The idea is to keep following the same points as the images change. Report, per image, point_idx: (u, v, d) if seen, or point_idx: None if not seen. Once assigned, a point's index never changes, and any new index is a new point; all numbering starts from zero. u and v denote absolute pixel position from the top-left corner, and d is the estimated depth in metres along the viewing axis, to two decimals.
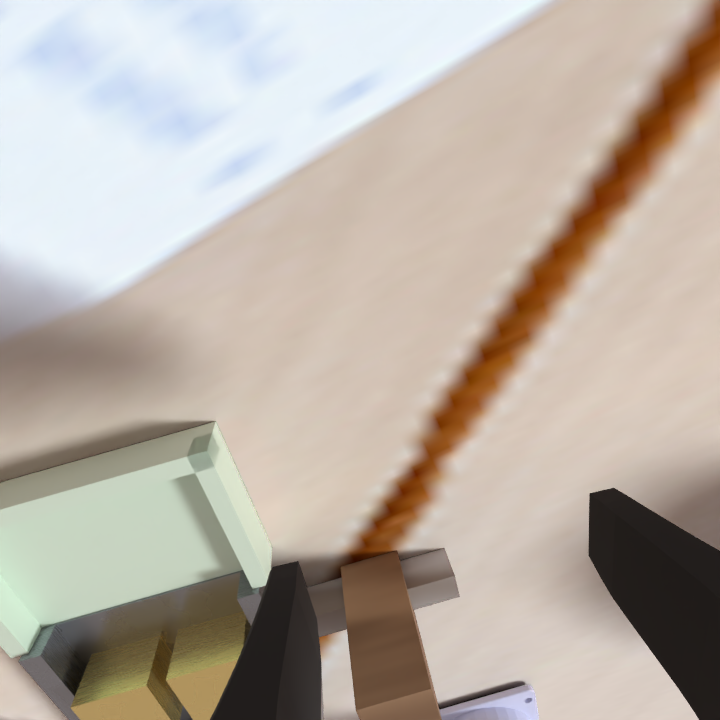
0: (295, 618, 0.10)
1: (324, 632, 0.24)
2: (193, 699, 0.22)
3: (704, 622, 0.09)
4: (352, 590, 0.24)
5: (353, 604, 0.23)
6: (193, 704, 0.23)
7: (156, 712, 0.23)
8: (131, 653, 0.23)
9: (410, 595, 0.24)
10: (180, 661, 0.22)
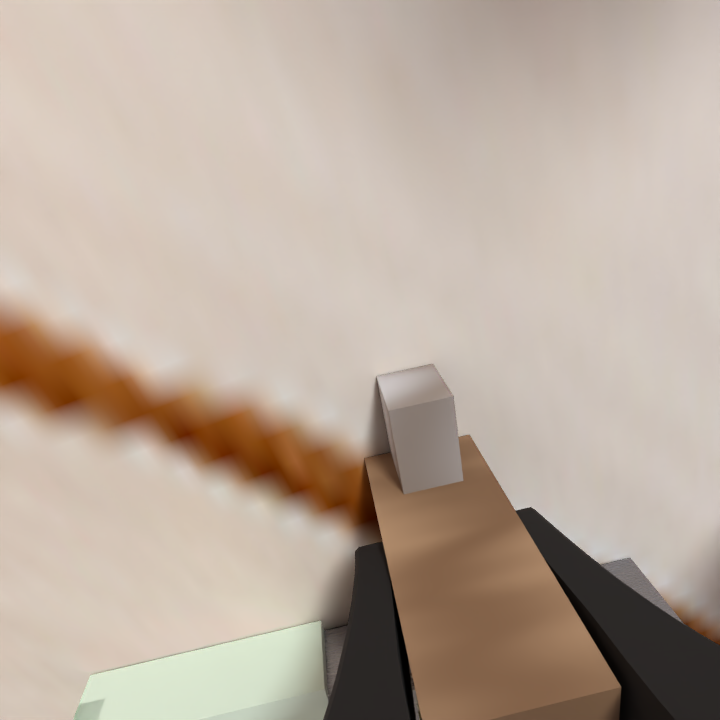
0: (393, 595, 0.10)
1: None
2: None
3: None
4: None
5: None
6: None
7: None
8: None
9: (421, 488, 0.12)
10: None
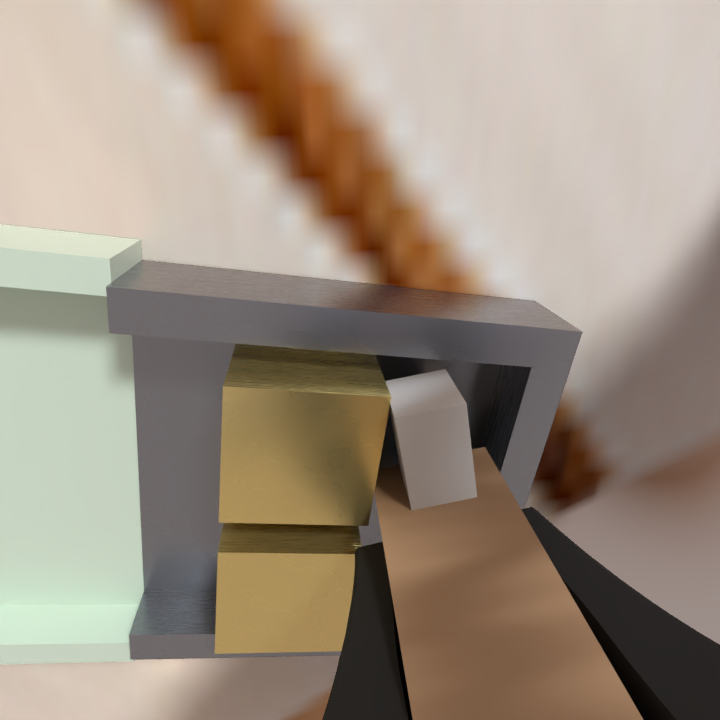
0: None
1: None
2: (295, 505, 0.11)
3: None
4: None
5: None
6: (311, 509, 0.11)
7: (296, 564, 0.12)
8: None
9: (431, 504, 0.11)
10: None
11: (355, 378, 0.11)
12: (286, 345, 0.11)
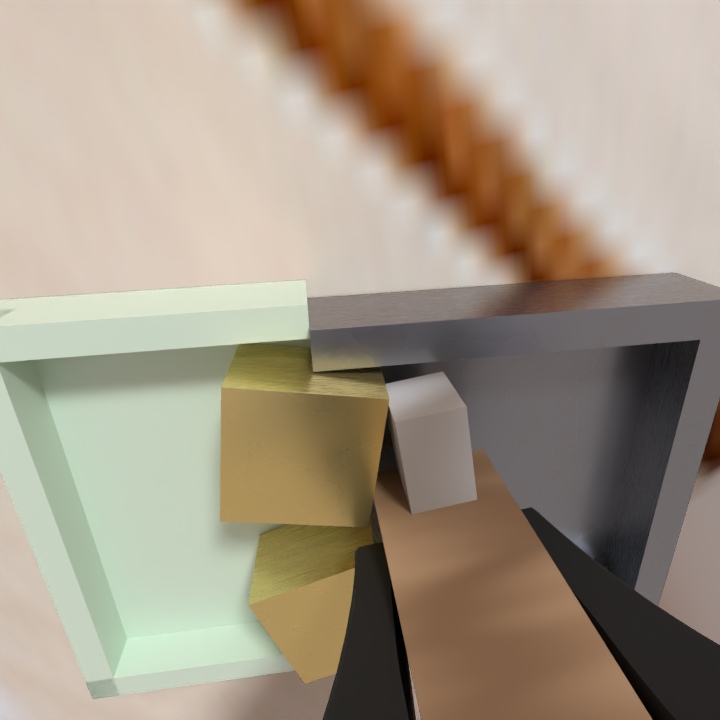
0: (392, 595, 0.10)
1: None
2: (295, 505, 0.11)
3: None
4: None
5: None
6: (311, 510, 0.11)
7: (322, 590, 0.12)
8: None
9: (431, 507, 0.11)
10: None
11: (354, 379, 0.11)
12: (469, 357, 0.11)
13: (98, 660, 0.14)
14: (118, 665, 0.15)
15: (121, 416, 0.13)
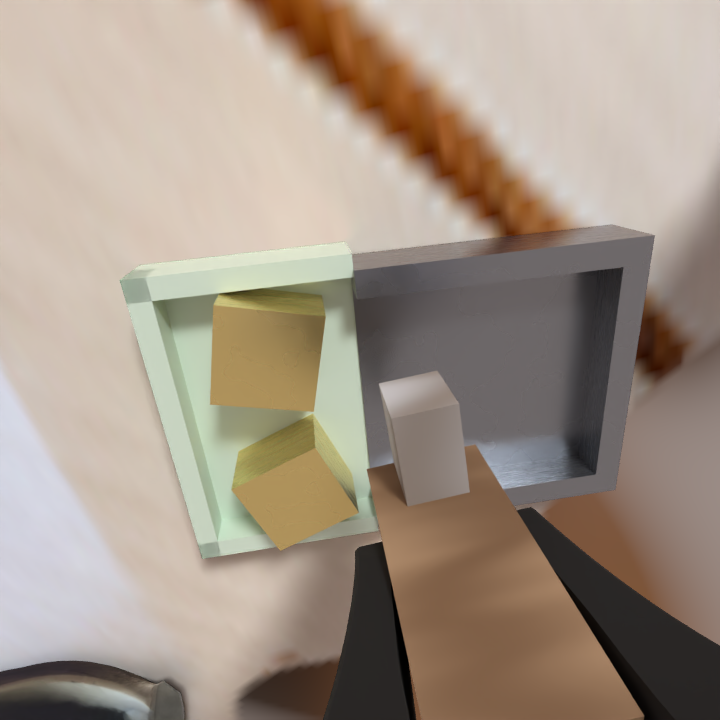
0: (393, 595, 0.10)
1: None
2: (262, 393, 0.17)
3: None
4: None
5: None
6: (273, 397, 0.17)
7: (281, 474, 0.18)
8: None
9: (426, 499, 0.11)
10: None
11: (303, 306, 0.16)
12: (462, 285, 0.17)
13: (207, 526, 0.20)
14: (219, 534, 0.21)
15: None
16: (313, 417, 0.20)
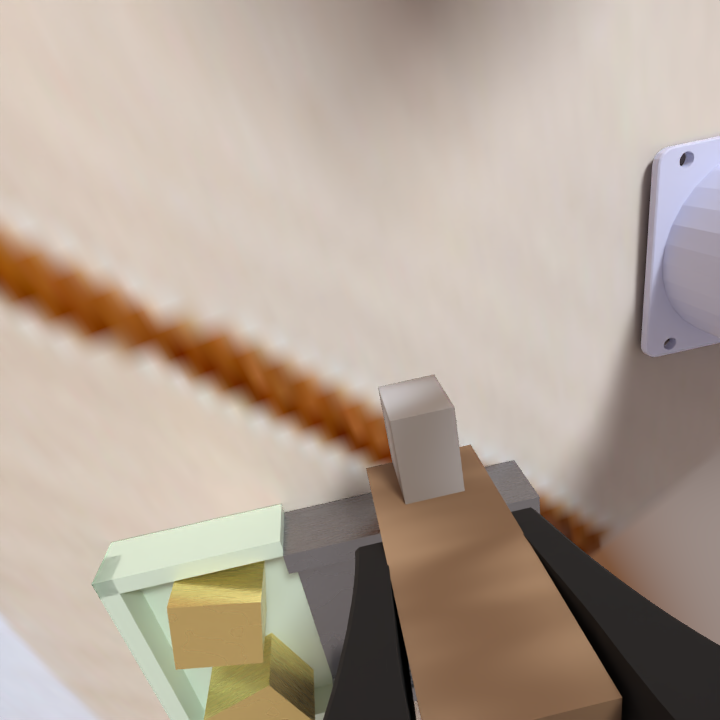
0: (393, 595, 0.10)
1: None
2: (218, 656, 0.20)
3: None
4: None
5: None
6: (227, 658, 0.20)
7: (243, 706, 0.21)
8: None
9: (423, 498, 0.12)
10: None
11: (244, 585, 0.20)
12: None
13: None
14: None
15: None
16: (271, 638, 0.23)
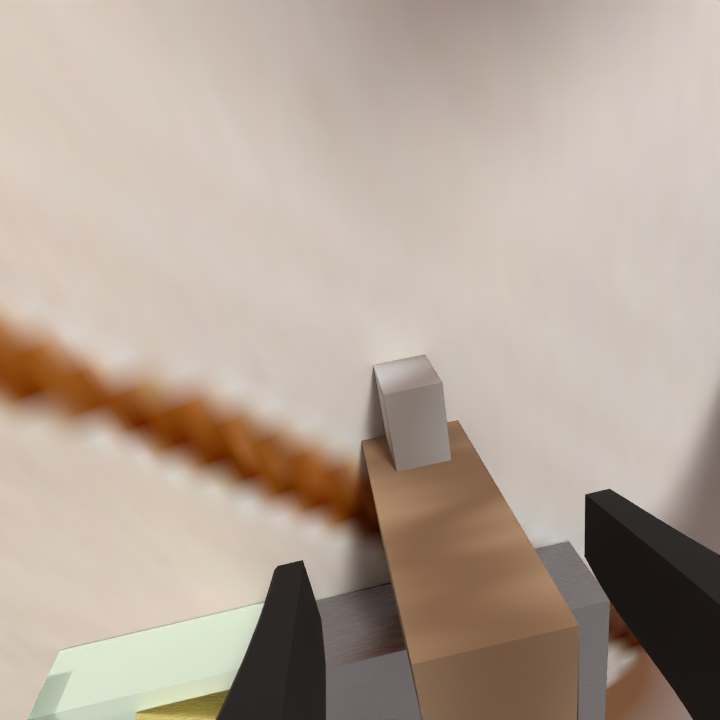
0: (300, 617, 0.10)
1: None
2: None
3: (698, 623, 0.09)
4: None
5: (387, 564, 0.14)
6: None
7: None
8: None
9: (413, 466, 0.13)
10: None
11: None
12: (400, 671, 0.15)
13: None
14: None
15: None
16: None
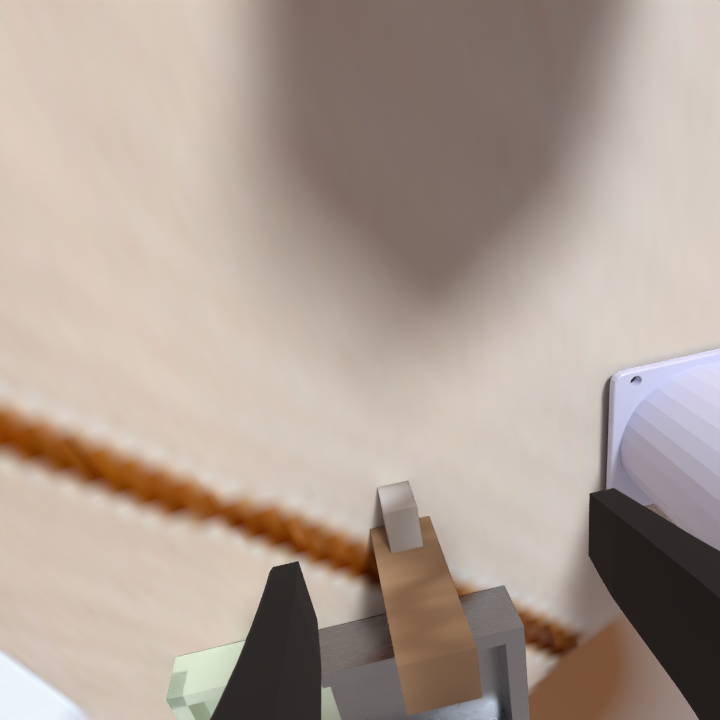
0: (295, 618, 0.10)
1: None
2: None
3: (704, 622, 0.09)
4: None
5: None
6: None
7: None
8: None
9: (400, 550, 0.22)
10: None
11: None
12: (393, 670, 0.25)
13: None
14: None
15: None
16: None
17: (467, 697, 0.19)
